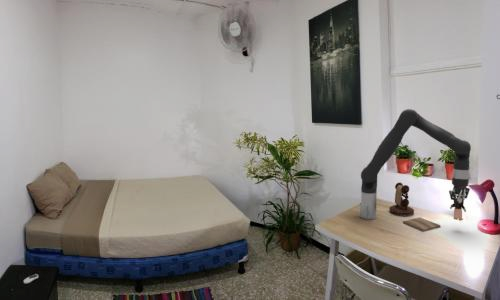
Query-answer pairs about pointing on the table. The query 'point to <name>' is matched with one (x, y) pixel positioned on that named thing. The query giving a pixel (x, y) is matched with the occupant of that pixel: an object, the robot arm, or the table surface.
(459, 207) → the grandmother figurine
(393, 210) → the brown wooden statue
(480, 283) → the table surface
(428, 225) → the walnut board
